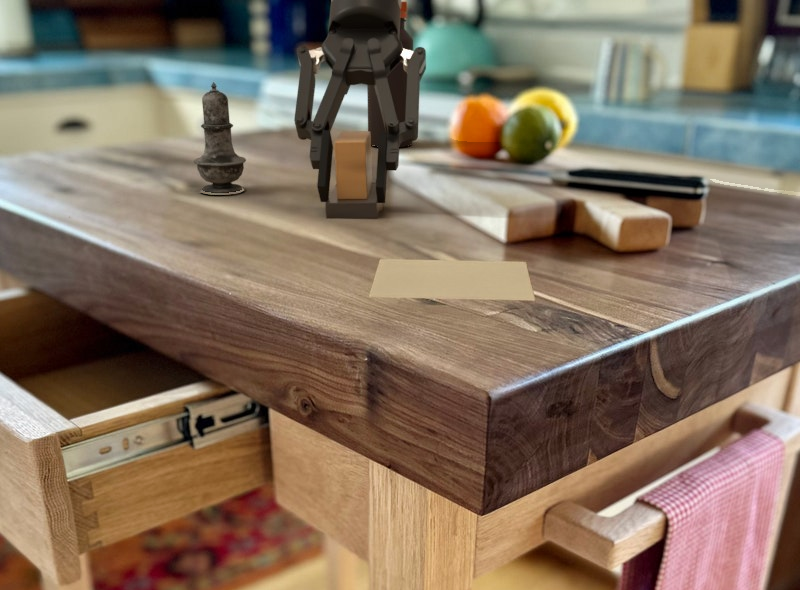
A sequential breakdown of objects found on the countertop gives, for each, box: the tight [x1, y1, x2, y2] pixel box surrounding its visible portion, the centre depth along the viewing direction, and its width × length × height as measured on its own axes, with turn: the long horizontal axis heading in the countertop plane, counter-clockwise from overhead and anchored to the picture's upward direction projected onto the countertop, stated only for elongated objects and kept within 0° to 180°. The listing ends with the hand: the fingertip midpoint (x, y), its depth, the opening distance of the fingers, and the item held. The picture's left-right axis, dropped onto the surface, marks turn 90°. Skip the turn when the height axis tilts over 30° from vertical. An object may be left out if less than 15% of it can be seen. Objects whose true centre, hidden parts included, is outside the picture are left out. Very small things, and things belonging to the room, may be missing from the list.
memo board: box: [368, 258, 536, 302], centre depth 67 cm, size 12×10×1 cm
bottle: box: [366, 1, 414, 148], centre depth 129 cm, size 7×7×20 cm
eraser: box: [324, 130, 384, 220], centre depth 88 cm, size 10×5×8 cm, turn 178°
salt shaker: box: [193, 81, 247, 193], centre depth 99 cm, size 6×6×12 cm
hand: (351, 194), depth 85 cm, fingers closed on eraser, 5 cm apart
